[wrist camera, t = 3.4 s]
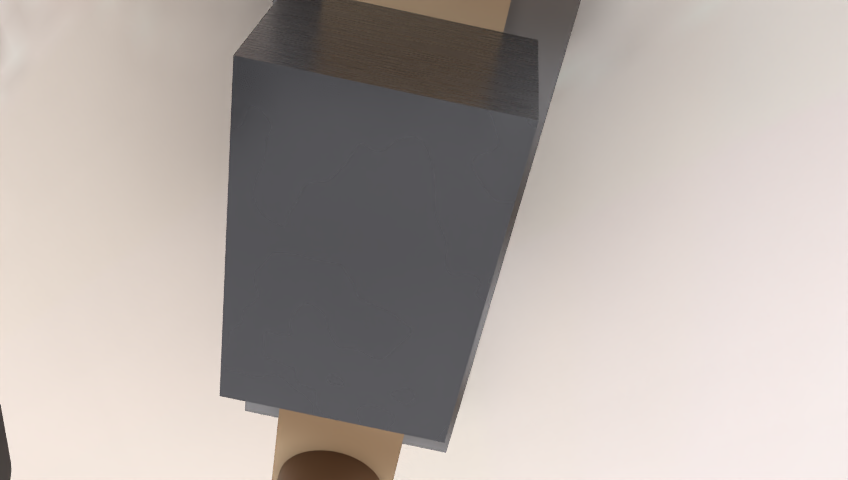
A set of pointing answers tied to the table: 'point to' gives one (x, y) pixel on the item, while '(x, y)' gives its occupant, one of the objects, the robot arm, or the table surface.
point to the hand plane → (378, 449)
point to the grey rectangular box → (368, 207)
